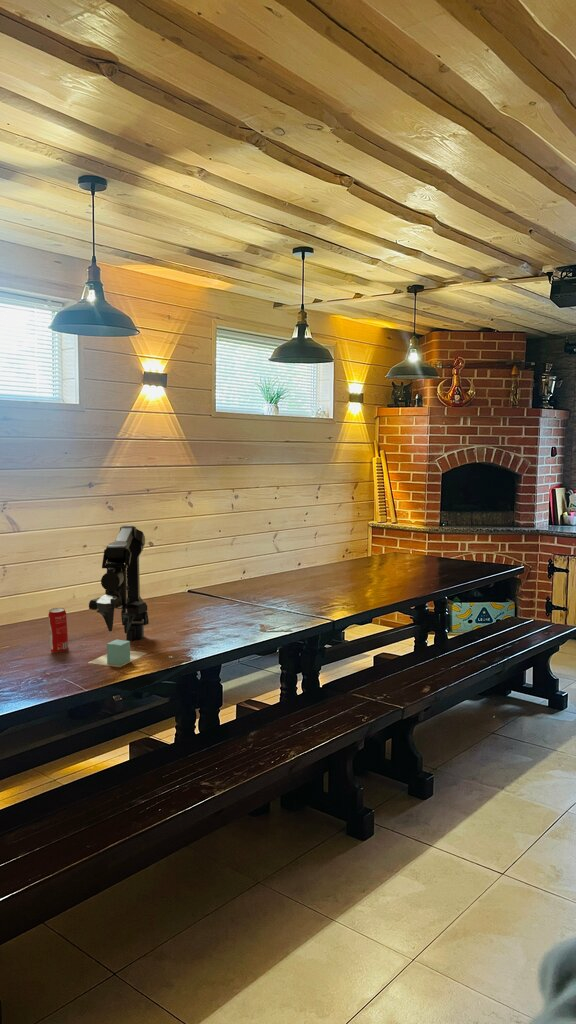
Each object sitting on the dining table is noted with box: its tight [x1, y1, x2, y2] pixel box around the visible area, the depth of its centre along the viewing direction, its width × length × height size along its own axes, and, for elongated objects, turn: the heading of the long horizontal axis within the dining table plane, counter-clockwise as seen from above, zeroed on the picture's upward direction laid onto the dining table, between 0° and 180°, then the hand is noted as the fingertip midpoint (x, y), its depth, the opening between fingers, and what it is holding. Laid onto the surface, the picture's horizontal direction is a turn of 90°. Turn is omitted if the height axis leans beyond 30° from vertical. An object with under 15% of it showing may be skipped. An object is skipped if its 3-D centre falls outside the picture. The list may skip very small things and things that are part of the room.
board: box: [87, 650, 148, 668], centre depth 234 cm, size 16×12×1 cm
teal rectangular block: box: [106, 639, 131, 667], centre depth 229 cm, size 5×5×7 cm
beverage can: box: [47, 607, 69, 654], centre depth 242 cm, size 6×6×15 cm
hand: (118, 632), depth 228 cm, fingers open, 6 cm apart
